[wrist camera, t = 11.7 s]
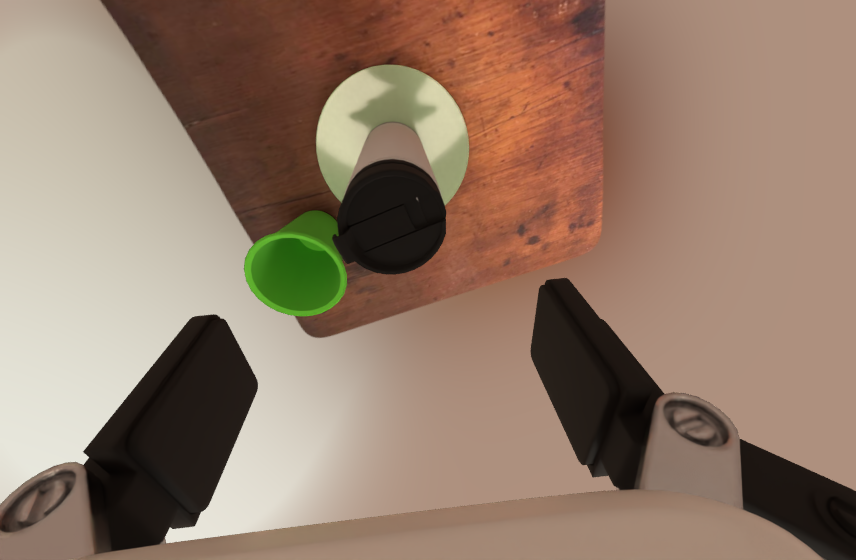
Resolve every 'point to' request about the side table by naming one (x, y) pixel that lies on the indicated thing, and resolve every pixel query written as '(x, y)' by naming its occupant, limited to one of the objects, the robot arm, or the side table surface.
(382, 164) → the travel mug
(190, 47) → the side table surface
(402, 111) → the trivet
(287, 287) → the cup
